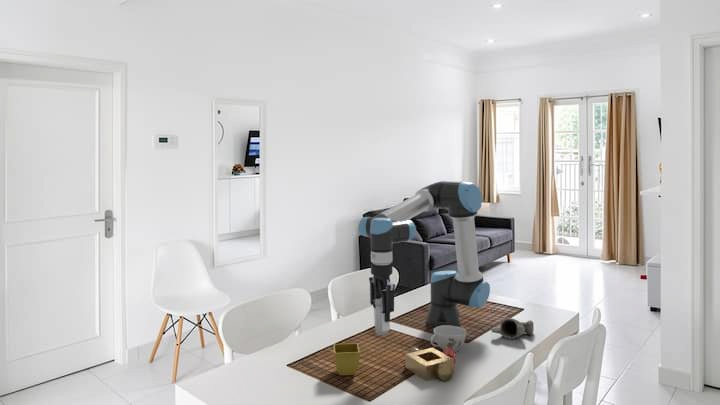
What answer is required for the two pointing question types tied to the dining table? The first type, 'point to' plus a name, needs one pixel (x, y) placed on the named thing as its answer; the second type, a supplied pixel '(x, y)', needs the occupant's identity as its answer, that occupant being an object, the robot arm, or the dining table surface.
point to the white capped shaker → (379, 317)
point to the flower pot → (346, 358)
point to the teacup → (449, 337)
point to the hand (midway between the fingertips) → (382, 327)
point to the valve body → (431, 363)
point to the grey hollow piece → (513, 328)
